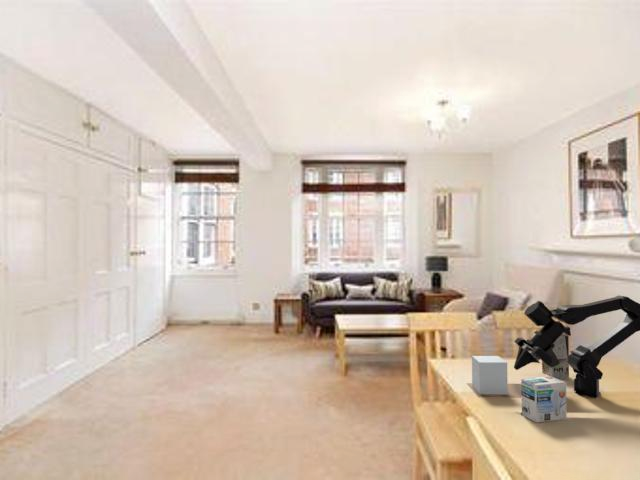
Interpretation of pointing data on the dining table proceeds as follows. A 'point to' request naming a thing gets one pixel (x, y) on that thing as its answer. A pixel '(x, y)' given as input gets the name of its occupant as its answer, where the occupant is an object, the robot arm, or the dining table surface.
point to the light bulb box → (543, 399)
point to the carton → (489, 375)
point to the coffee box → (559, 359)
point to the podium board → (513, 392)
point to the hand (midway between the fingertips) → (515, 368)
